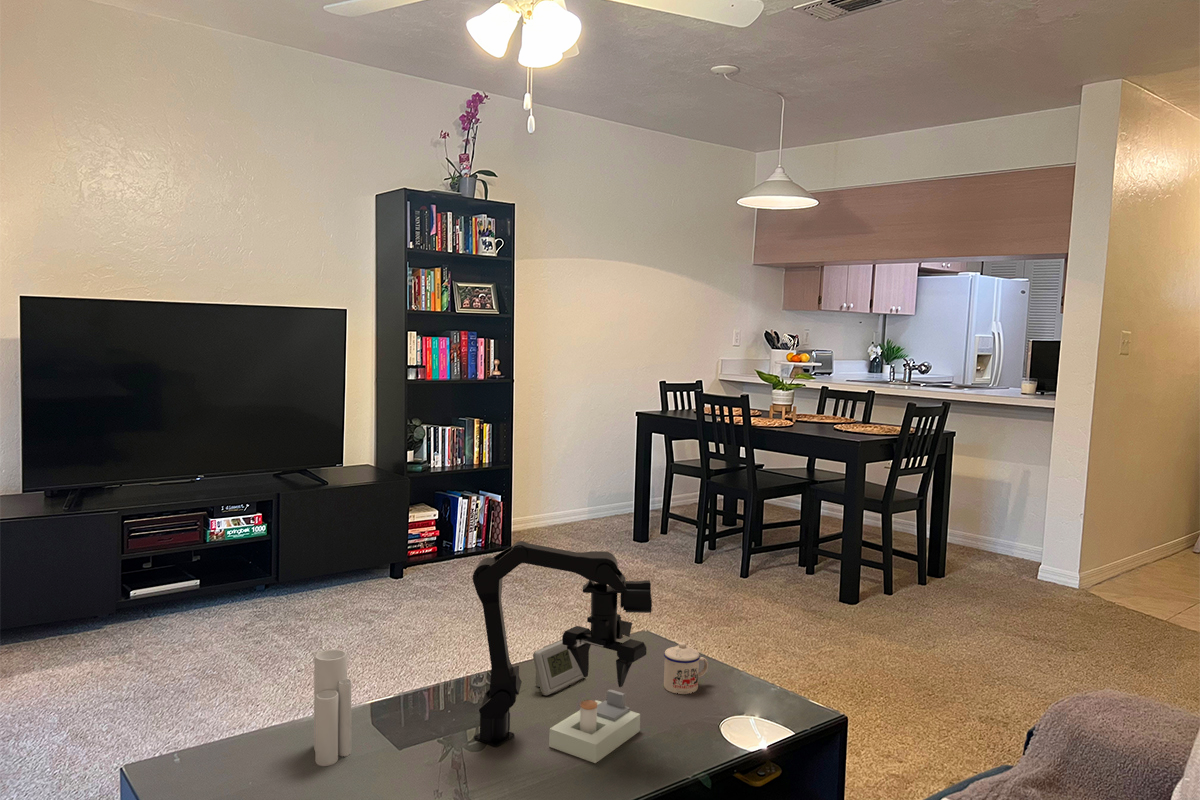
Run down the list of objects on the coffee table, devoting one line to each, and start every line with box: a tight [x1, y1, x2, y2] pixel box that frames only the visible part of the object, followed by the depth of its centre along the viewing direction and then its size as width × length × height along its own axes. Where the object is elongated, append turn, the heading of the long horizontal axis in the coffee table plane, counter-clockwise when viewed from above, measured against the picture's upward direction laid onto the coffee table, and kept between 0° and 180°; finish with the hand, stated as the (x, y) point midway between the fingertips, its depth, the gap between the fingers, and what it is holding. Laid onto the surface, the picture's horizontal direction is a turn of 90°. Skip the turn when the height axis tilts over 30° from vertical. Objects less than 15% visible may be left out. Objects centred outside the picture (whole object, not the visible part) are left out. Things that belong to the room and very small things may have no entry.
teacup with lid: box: [663, 641, 709, 695], centre depth 217 cm, size 12×9×12 cm
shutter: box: [597, 689, 631, 721], centre depth 192 cm, size 7×7×4 cm
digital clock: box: [532, 639, 585, 696], centre depth 216 cm, size 16×9×11 cm, turn 131°
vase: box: [313, 648, 352, 767], centre depth 178 cm, size 11×7×20 cm, turn 22°
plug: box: [579, 699, 597, 735], centre depth 185 cm, size 4×4×9 cm
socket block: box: [548, 699, 641, 764], centre depth 188 cm, size 18×12×4 cm, turn 147°
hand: (603, 681), depth 186 cm, fingers open, 9 cm apart
